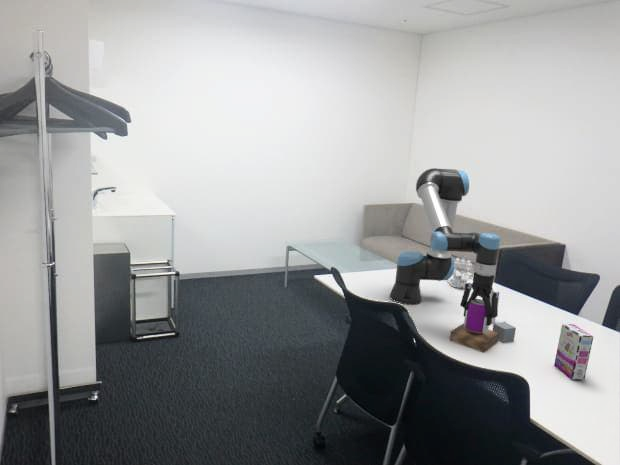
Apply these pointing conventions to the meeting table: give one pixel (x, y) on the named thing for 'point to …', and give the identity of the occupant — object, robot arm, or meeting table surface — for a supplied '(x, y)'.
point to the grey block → (504, 332)
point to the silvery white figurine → (461, 273)
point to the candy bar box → (573, 351)
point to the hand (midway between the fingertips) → (475, 328)
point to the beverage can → (476, 316)
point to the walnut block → (474, 338)
